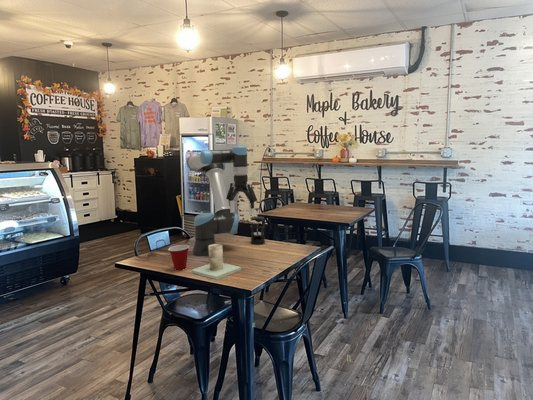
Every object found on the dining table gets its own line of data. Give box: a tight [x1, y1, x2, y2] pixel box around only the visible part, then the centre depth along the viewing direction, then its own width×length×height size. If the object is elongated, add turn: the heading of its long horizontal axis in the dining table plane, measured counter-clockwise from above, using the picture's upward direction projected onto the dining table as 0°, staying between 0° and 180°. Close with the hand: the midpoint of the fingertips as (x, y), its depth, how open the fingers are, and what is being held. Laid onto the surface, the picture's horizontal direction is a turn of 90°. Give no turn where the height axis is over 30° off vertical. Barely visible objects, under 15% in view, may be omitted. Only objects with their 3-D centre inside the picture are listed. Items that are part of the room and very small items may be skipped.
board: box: [190, 262, 242, 280], centre depth 204 cm, size 18×18×2 cm
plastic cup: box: [168, 244, 190, 271], centre depth 208 cm, size 11×11×12 cm
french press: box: [250, 207, 266, 246], centre depth 259 cm, size 12×9×23 cm
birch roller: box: [208, 243, 224, 271], centre depth 203 cm, size 7×7×12 cm
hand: (241, 213), depth 218 cm, fingers open, 13 cm apart
